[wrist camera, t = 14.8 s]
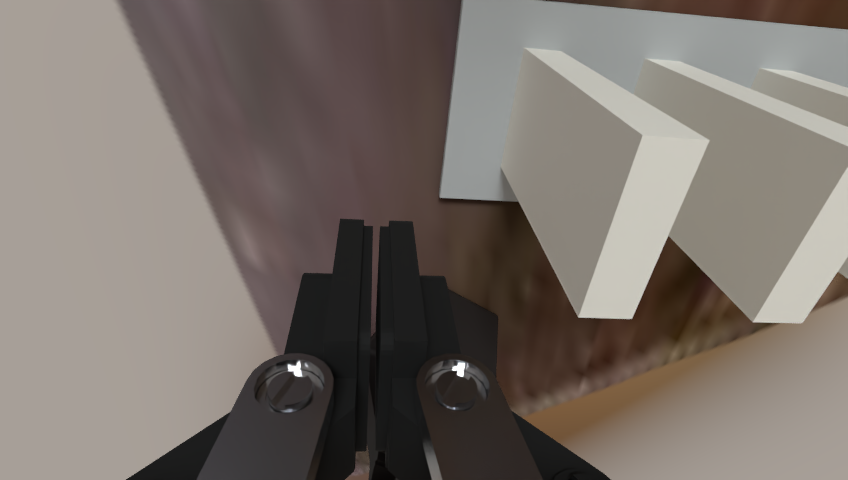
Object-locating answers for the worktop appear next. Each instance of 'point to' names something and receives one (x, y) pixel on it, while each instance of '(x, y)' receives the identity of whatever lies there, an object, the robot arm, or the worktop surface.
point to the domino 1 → (596, 179)
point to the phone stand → (474, 341)
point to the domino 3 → (806, 99)
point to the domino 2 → (757, 191)
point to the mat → (599, 66)
